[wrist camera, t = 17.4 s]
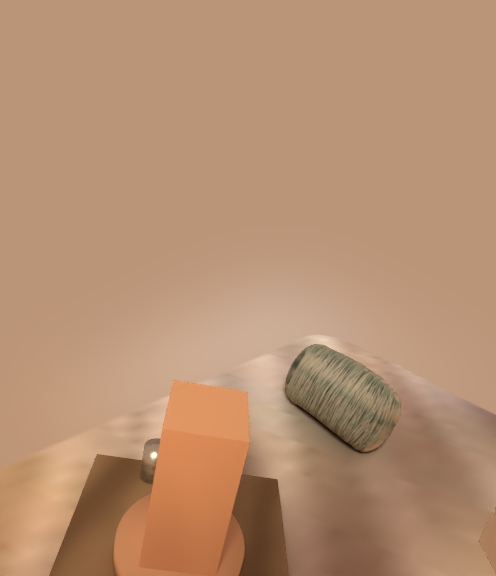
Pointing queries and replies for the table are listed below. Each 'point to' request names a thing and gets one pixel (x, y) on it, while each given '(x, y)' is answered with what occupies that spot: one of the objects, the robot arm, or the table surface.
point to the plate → (130, 488)
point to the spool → (344, 396)
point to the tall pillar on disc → (190, 490)
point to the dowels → (149, 460)
